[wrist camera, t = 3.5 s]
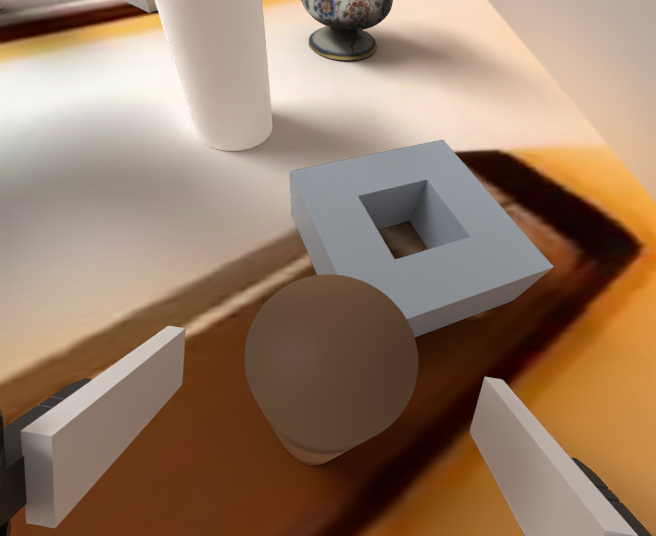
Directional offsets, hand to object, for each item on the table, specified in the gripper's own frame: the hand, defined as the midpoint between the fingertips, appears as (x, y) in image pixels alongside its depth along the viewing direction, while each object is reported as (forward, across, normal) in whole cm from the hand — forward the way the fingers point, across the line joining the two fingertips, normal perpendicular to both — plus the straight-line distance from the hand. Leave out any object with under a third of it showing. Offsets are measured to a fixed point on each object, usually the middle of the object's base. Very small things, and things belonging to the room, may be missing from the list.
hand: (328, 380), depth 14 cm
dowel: (+5, 0, -6) cm, 8 cm away
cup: (+25, -14, +13) cm, 31 cm away
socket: (+15, +4, +4) cm, 16 cm away
